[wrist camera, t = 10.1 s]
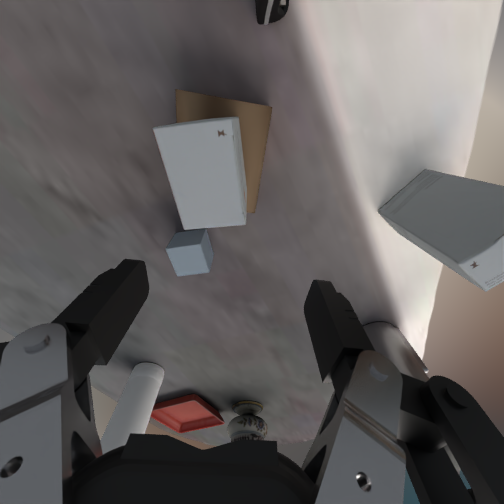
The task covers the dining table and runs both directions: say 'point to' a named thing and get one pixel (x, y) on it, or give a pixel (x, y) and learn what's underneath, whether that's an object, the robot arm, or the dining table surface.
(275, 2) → the battery charger
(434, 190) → the skincare box
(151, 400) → the bottle
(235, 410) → the apothecary jar
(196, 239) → the blue-grey cube
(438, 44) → the dining table surface
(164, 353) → the dining table surface
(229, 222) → the small box
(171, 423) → the plant saucer
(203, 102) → the walnut slab
